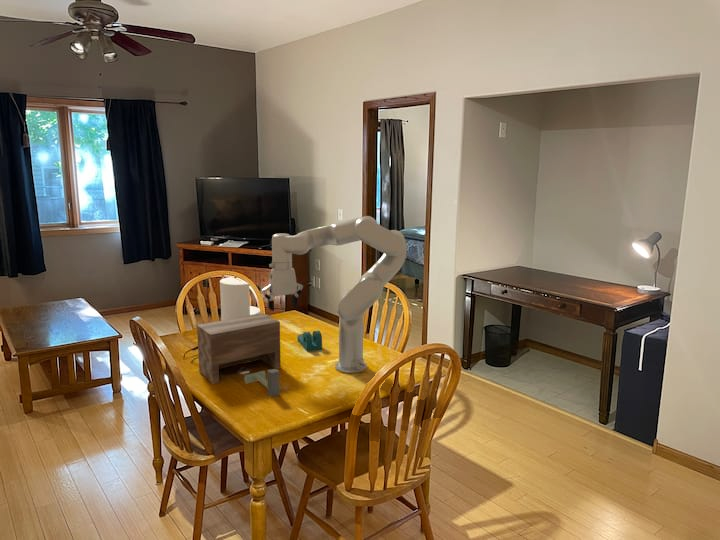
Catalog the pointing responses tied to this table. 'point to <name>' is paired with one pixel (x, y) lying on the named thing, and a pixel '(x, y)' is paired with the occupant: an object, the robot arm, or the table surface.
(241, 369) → the token
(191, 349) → the sunglasses
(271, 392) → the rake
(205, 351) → the cabinet
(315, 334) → the bracket
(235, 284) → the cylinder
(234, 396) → the table surface
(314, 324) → the table surface
